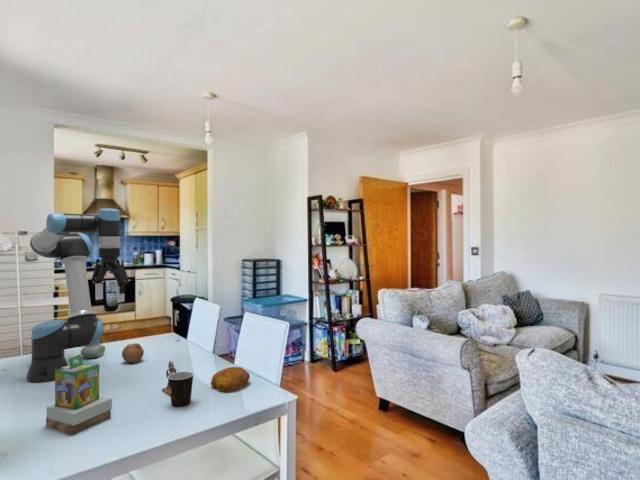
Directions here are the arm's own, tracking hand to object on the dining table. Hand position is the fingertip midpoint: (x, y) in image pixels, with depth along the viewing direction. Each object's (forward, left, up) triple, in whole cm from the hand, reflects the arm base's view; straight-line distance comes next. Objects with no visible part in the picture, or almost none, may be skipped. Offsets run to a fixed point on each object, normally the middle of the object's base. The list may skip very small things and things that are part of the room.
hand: (109, 300), depth 160 cm
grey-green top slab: (+20, -24, -32) cm, 45 cm away
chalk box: (+19, -25, -28) cm, 42 cm away
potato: (+42, +23, -35) cm, 59 cm away
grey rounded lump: (-46, +23, -35) cm, 62 cm away
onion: (-20, +26, -35) cm, 48 cm away
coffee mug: (+39, 0, -35) cm, 52 cm away
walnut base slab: (+19, -24, -35) cm, 47 cm away
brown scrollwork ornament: (+27, +7, -35) cm, 44 cm away
